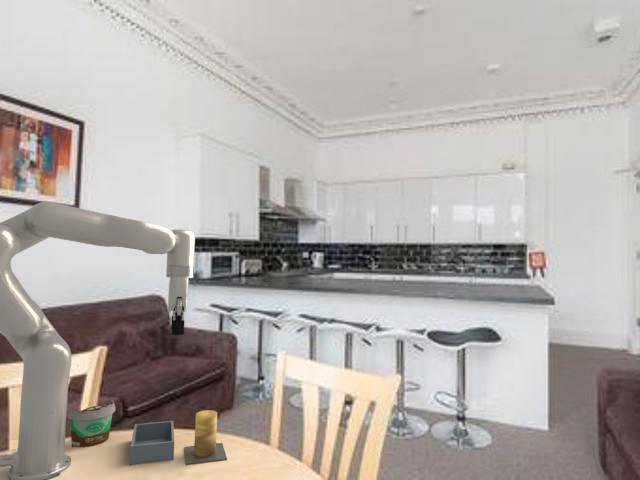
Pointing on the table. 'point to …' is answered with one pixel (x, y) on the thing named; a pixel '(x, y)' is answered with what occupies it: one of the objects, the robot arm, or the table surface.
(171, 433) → the slate open box
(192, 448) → the gray square plate
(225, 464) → the table surface
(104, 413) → the food container
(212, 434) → the mustard cylinder
